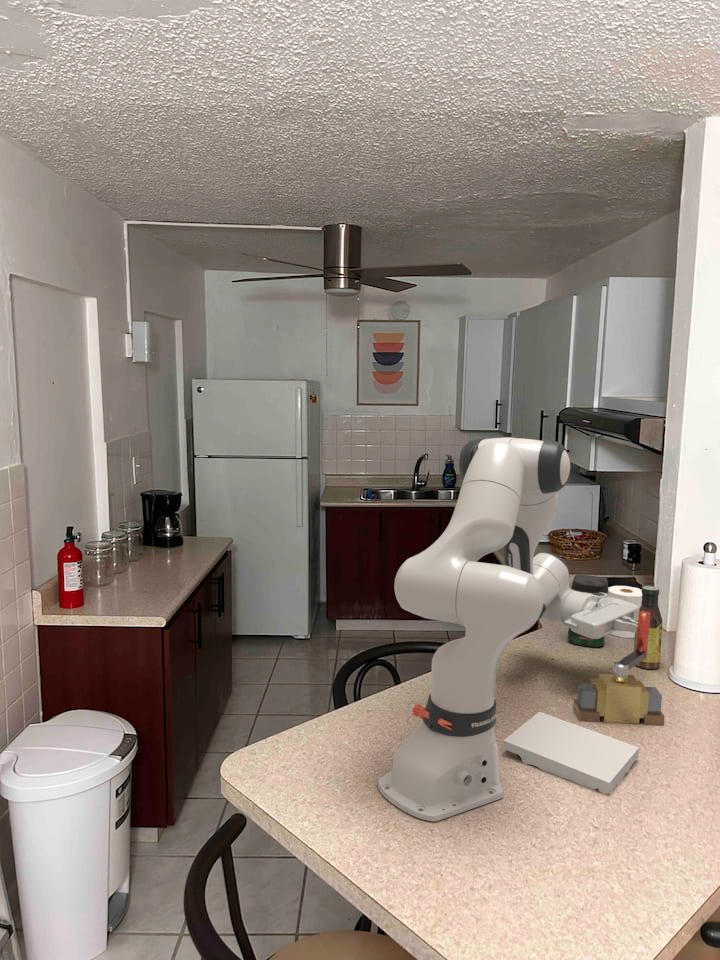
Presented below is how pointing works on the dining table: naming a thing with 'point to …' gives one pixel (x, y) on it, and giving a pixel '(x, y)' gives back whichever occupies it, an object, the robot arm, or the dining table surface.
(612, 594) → the toilet paper
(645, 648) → the valve lever
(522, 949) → the dining table surface
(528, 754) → the light grey flat slab
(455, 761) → the robot arm
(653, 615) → the sauce bottle
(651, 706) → the ball valve
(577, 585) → the coffee jar
